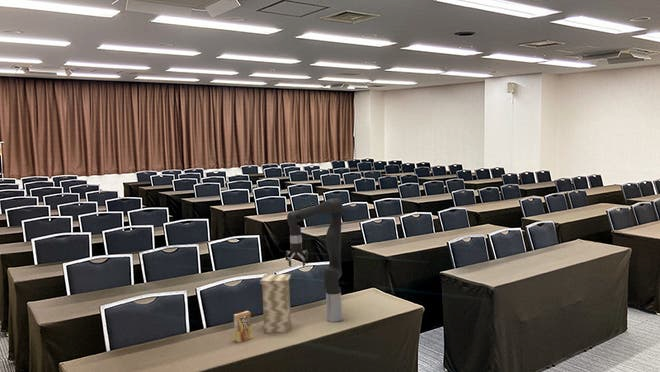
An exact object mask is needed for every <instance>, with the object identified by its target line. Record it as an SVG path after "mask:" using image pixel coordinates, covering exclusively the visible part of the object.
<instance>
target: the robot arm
mask: <svg viewBox="0 0 660 372" xmlns="http://www.w3.org/2000/svg"><path fill="white" fill-rule="evenodd" d="M343 207H344V206H343V201H342V200H341V199H340V198H338V197H336V198H335V197H334V198H329V199H326V200H325V201H323V202H320V203H318V204H316V205H313V206H308V207H304V208H302V209H298V210H293V211H289V212H288V214H287V216H286V219H287V220H286V221H287V223H288V227H289V233H290V234H289V242H290V245H289V246H290V248H289V249H290V250H286V251H285V261H288V266H289V267H290V268H291V267H292V259H293V258H300V259H302V267H305V266H306V261H307V260H308V259H309V256H308V255H309V253H308V250H307V249H305V250H303V237H302V226H300V225H298V224H297V222H301V221H304V220H309V219H313V218H315V217H317V216H320V215H330V224H329V226H328V229H327V230H326V235H325V244H326V245H325V246H326V250H327V254H328V257H329V261H328V262H329V263H328V267H327V268H326V269H325V271H324V273H323V285H324V290H325V300H326V302H325V303H326V304H325V305H326V320H327V322H331V323H339V322H342V321H343V306H342V289H341V287H340V285H339V280H340V279H341V277H342V275H343V273H342V272H343V271H342V259H341V258H342V257H341V254H342V220H343V219H342V218H343ZM289 255H290V257H289ZM304 256H305V257H304Z"/></svg>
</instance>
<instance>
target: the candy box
mask: <svg viewBox="0 0 660 372" xmlns="http://www.w3.org/2000/svg"><path fill="white" fill-rule="evenodd" d="M233 323H234V340H235V341H236V342H237V343H241V342H244V341H247V340H251V339H252V338H253V335H252V334H253V333H252V331H253V330H252V313H251V311H249V310H245V311H242V312H238V313H235V314H233Z"/></svg>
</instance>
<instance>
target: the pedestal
mask: <svg viewBox="0 0 660 372" xmlns="http://www.w3.org/2000/svg"><path fill="white" fill-rule="evenodd" d="M291 278H292V274H290V273H282V274H278V273H277V274H264V275H263V276H262V278H261V279H260V280H259V284H260V285H261V290H262V291H261V292H262V309H263V311H262V312H263V314H262V315H263V329H264V330H263V331H264V332H263V333H265V334H269V333H274V334H275V333H289V331H290V328H291V326H292V318H291V317H292V316H291V315H292V314H291V297H290V296H291V295H290V291H291V290H290V280H291Z"/></svg>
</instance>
